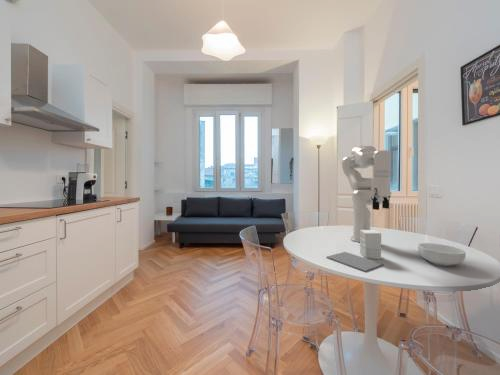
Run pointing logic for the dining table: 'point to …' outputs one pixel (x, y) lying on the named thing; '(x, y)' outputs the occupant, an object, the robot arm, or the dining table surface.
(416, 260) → the dining table surface
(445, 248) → the cereal bowl
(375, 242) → the supplement box
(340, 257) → the mat
